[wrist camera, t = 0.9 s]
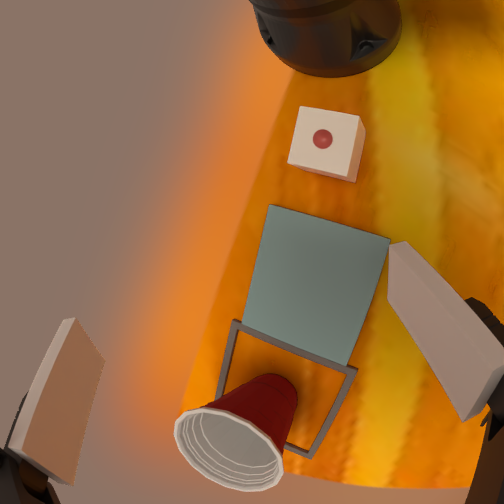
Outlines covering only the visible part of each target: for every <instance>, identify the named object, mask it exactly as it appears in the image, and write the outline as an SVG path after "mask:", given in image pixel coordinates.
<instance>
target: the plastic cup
mask: <svg viewBox="0 0 504 504" xmlns="http://www.w3.org/2000/svg"><path fill="white" fill-rule="evenodd" d="M296 406H297V392H296V390H295V388H294V387H293V385H292V384H291V383H290V382H289V381H288V380H287V379H286V378H283V377H281V376H279V375H276V374H265V375H262V376H259V377H256V378H254V379H253V380H251V381H249V382H248V383H246V384H243V385H241V386H239V387H238V388H236V389H234V390H232V391H231V392H229V393H227V394H226V395H224V396H222V397H220V398H219V399H217V400H215V401H213V402H210V403H208V404H207V405H205V406H202V407H200V408H197V409H192V410H188V411H186V412H184V413H183V414H182V415H181V416H180V417H179V418H178V419H177V420H176V421H175V428H174V437H175V440H176V443H177V445H178V448H179V451H180V452H181V453H182V454H183V456H184V457H185V458H186V460H187V461H188V462H189V463H190V465H191V466H193V467H194V468H195V469H196V470H198V471H199V472H200V473H201V474H203V475H204V476H205V477H206V478H209V479H210V480H212V481H214V482H216V483H218V484H220V485H222V486H224V487H228V488H232V489H236V490H240V491H244V492H249V491H264V490H266V489H268V488H271V487H273V486H275V485H277V483H278V482H279V480H280V478H281V477H282V475H283V473H284V467H283V460H282V455H283V451H284V450H283V448H284V445H285V442H286V439H287V436H288V433H289V430H290V427H291V424H292V421H293V415H294V412H295V409H296Z"/></svg>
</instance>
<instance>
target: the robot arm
mask: <svg viewBox="0 0 504 504" xmlns="http://www.w3.org/2000/svg"><path fill="white" fill-rule="evenodd" d="M249 1H250V2H251V3H252V4H253V8H254V11H255V15H256V19H257V22H258V26H259V30H260V33H261V36H262V38H263V39H264V41H265V43H266V44H267V45H268V47H269V48H270V49H271V51H272V52H273V53H275V55H276V56H277V57H278V58H279V59H280V60H281V61H282V62H284V63H285V64H286V65H288V66H289V67H291V68H293V69H295V70H297V71H300V72H302V73H305V74H309V75H314V76H320V77H342V76H348V75H353V74H357V73H360V72H363V71H366V70H368V69H370V68H372V67H374V66H376V65H377V64H379V63H380V62H382V61H383V60H384V59H386V58H387V57H388V56H389V55H390V54H391V52H392V51H393V50H394V48H395V47H396V45H397V43H398V41H399V39H400V35H401V30H402V22H401V12H400V7H399V4H398V1H397V0H249ZM387 301H388V302H389V303H390V305H391V306H392V308H393V309H394V311H395V312H396V314H397V315H398V317H399V318H400V320H401V321H402V323H403V324H404V326H405V327H406V329H407V330H408V332H409V333H410V335H411V336H412V338H413V340H414V341H415V343H416V344H417V346H418V347H419V349H420V351H421V352H422V354H423V355H424V357H425V359H426V360H427V362H428V363H429V365H430V367H431V368H432V370H433V372H434V373H435V375H436V377H437V378H438V380H439V382H440V383H441V385H442V387H443V389H444V390H445V392H446V394H447V395H448V397H449V399H450V401H451V402H452V404H453V406H454V408H455V410H456V411H457V413H458V415H459V417H460V419H461V421H462V422H465V421H467V420H468V419H470V418H472V417H474V416H475V415H477V414H479V413H480V412H481V411H482V410H483V408H484V407H485V405H486V403H488V405H489V407H490V408H491V409H490V411H489V412H488V414H487V415H486V416H485V418H484V419H483V421H482V423H481V425H480V426H484V424H485V423H486V422H487V425H486V430H485V435H484V439H483V444H482V448H481V452H480V456H479V460H478V464H477V467H476V471H475V474H474V478H473V481H472V484H471V487H470V490H469V493H468V497H467V499H466V502H465V504H504V325H503V324H502V323H501V324H500V321H499V320H498V319H497V317H496V316H493V313H492V312H491V311H490V310H489V309H488V307H487V306H486V305H485V304H484V303H482V302H480V301H478V300H476V299H475V298H473V297H471V298H469V299H466V300H463V299H462V298H461V297H460V296H459V295H458V294H457V292H456V291H455V290H454V289H453V288H452V287H451V286H450V285H449V284H448V283H447V282H446V281H445V280H444V279H443V278H442V277H441V275H440V274H439V273H438V272H437V271H436V270H435V269H434V268H433V267H432V266H431V265H430V264H429V263H428V262H427V261H426V260H425V259H424V258H423V257H422V256H421V255H420V254H419V253H418V252H417V251H416V250H415V249H414V248H412V247H411V246H410V245H409V244H408V243H407V242H406V241H403V242H399V243H395V244H392V245H389V272H388V294H387ZM104 363H105V360H104V358H103V357H102V356H101V354H100V353H99V351H98V350H97V349H96V347H95V346H94V344H93V343H92V341H91V340H90V338H89V337H88V335H87V334H86V332H85V331H84V329H83V328H82V326H81V324H80V323H79V321H78V320H77V318H76V317H75V318H70V319H64V320H63V321H62V323H61V325H60V327H59V329H58V331H57V333H56V335H55V337H54V339H53V341H52V343H51V345H50V347H49V349H48V351H47V353H46V355H45V357H44V359H43V361H42V363H41V365H40V367H39V369H38V372H37V374H36V376H35V378H34V381H33V383H32V385H31V387H30V390H29V391H28V392H27V394H26V395H25V396H24V398H23V399H22V402H21V404H20V407H19V411H18V412H17V414H16V419H14V422H13V425H12V427H11V430H10V433H9V436H8V438H7V442H6V444H5V447H4V449H1V448H0V504H61V503H60V501H59V499H58V497H57V495H56V493H55V490H54V488H53V486H52V485H51V484H50V483H49V482H47V481H48V477H50V478H52V479H53V480H55V481H56V482H58V483H61V484H65V485H70V486H73V485H74V480H75V475H76V470H77V465H78V460H79V456H80V451H81V447H82V442H83V438H84V434H85V430H86V426H87V422H88V418H89V414H90V411H91V407H92V404H93V400H94V396H95V393H96V389H97V386H98V383H99V380H100V376H101V373H102V370H103V367H104Z"/></svg>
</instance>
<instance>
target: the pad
mask: <svg viewBox="0 0 504 504" xmlns="http://www.w3.org/2000/svg"><path fill="white" fill-rule="evenodd" d="M390 240H391V239H389V238H386V237H382V236H379V235H376V234H373V233H370V232H366V231H363V230H360V229H357V228H353V227H350V226H347V225H343V224H340V223H336V222H333V221H330V220H326V219H323V218H319V217H316V216H312V215H309V214H305V213H302V212H298V211H294V210H291V209H287V208H283V207H280V206H276V205H271V204H269V208H268V212H267V216H266V221H265V225H264V229H263V234H262V238H261V242H260V247H259V251H258V255H257V259H256V264H255V268H254V272H253V276H252V281H251V285H250V289H249V293H248V298H247V302H246V306H245V310H244V315H243V319H242V323H241V324H243V325H245V326H248V327H250V328H252V329H255V330H257V331H259V332H261V333H264V334H266V335H269V336H271V337H273V338H276V339H278V340H280V341H283V342H285V343H288V344H290V345H293V346H295V347H297V348H300V349H302V350H305V351H307V352H310V353H313V354H315V355H318V356H320V357H323V358H325V359H328V360H331V361H333V362H336V363H339V364H341V365H344V366H346V365H347V363H348V360H349V358H350V355H351V353H352V351H353V348H354V346H355V343H356V341H357V338H358V336H359V333H360V330H361V328H362V325H363V323H364V320H365V317H366V314H367V312H368V309H369V306H370V303H371V300H372V298H373V295H374V292H375V289H376V286H377V283H378V280H379V277H380V274H381V270H382V267H383V264H384V261H385V258H386V254H387V251H388V247H389V244H390Z"/></svg>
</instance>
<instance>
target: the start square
mask: <svg viewBox="0 0 504 504" xmlns="http://www.w3.org/2000/svg"><path fill="white" fill-rule="evenodd" d="M241 323H242V322H241V321H239V320H236V319H233V320H232V323H231V327H230V332H229V336H228V341H227V345H226V350H225V354H224V359H223V363H222V368H221V372H220V377H219V382H218V386H217V391H216V395H215V400H217V399H219V398H220V397H222V396H223V393H224V389H225V385H226V381H227V376H228V372H229V368H230V364H231V360H232V355H233V351H234V347H235V343H236V338H237V334H238V330H240V331H243V332H245V333H247V334H249V335H252V336H254V337H256V338H258V339H261V340H263V341H265V342H268V343H270V344H272V345H275V346H277V347H279V348H282V349H284V350H286V351H289V352H291V353H294V354H296V355H299V356H301V357H304V358H306V359H309V360H311V361H314V362H316V363H319V364H321V365H324V366H326V367H329V368H332V369H334V370H337V371H339V372H342V373H345V374H347V377H346V379H345V381H344V383H343V385H342V387H341V390H340V392H339V394H338V396H337V398H336V400H335V402H334V404H333V406H332V408H331V410H330V412H329V414H328V416H327V418H326V420H325V422H324V424H323V426H322V428H321V430H320V432H319V434H318V436H317V437H316V439H315V441H314V443H313V445H312V447H311V448H310V450H309V451H307V450H304V449H302V448H300V447H297V446H295V445H292V444H290V443H288V442H285V445H284V449H287V450H289V451H291V452H294V453H296V454H298V455H301V456H303V457H306V458H308V459H312V457H313V456H314V454H315V452H316V451H317V449H318V447H319V445H320V444H321V442H322V440H323V438H324V437H325V435H326V433H327V431H328V429H329V427H330V426H331V424H332V422H333V420H334V418H335V416H336V414H337V412H338V410H339V408H340V406H341V404H342V402H343V400H344V398H345V396H346V394H347V392H348V390H349V388H350V386H351V384H352V382H353V380H354V377H355V375H356V373H357V371H358V368H355V367H352V366H350V365H346V366H344V365H341V364H339V363H336V362H333V361H331V360H328V359H325V358H323V357H320V356H318V355H315V354H313V353H310V352H307V351H305V350H302V349H300V348H297V347H295V346H293V345H290V344H288V343H285V342H283V341H280V340H278V339H276V338H273V337H271V336H269V335H266V334H264V333H261V332H259V331H257V330H255V329H252V328H250V327H248V326H245V325H243V324H241ZM215 400H214V401H215Z"/></svg>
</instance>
